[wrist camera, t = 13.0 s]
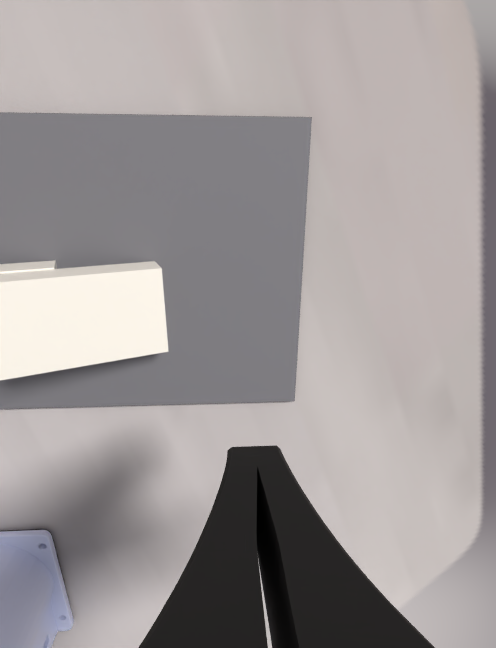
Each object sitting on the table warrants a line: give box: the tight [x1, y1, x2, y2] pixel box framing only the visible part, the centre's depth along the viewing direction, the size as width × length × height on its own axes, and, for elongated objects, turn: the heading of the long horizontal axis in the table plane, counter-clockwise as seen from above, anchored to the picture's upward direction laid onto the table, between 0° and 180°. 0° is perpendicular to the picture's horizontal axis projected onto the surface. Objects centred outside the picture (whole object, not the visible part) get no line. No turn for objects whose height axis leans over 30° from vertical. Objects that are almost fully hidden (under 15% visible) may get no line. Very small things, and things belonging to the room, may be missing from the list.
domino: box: [0, 261, 168, 380], centre depth 16 cm, size 4×2×7 cm
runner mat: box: [0, 113, 312, 409], centre depth 18 cm, size 14×28×1 cm, turn 90°
